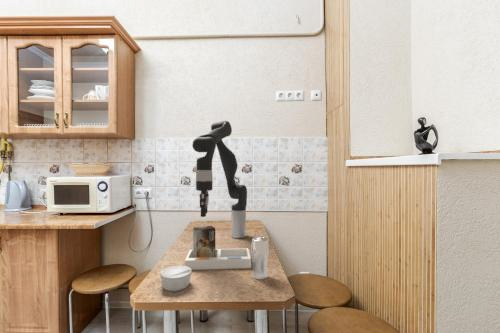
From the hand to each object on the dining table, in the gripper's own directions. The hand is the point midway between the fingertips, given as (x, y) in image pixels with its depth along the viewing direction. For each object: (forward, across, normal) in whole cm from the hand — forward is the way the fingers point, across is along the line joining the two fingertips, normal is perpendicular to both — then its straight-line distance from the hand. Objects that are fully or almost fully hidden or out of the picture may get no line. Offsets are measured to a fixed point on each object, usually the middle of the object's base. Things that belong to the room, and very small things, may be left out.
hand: (204, 214), depth 114 cm
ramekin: (+22, +22, -8) cm, 32 cm away
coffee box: (+22, 0, 0) cm, 22 cm away
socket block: (+22, +1, +7) cm, 23 cm away
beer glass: (+22, +17, +24) cm, 37 cm away
